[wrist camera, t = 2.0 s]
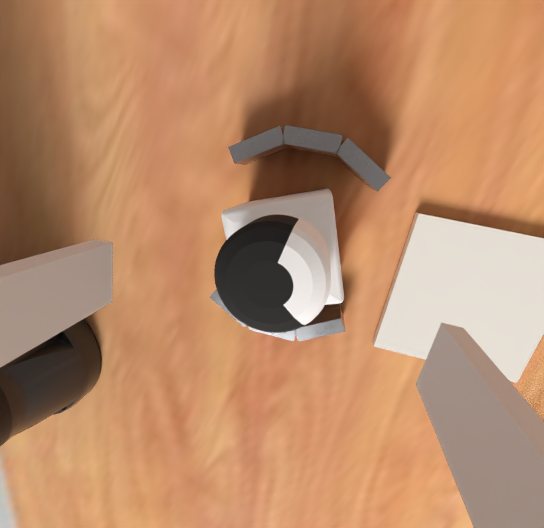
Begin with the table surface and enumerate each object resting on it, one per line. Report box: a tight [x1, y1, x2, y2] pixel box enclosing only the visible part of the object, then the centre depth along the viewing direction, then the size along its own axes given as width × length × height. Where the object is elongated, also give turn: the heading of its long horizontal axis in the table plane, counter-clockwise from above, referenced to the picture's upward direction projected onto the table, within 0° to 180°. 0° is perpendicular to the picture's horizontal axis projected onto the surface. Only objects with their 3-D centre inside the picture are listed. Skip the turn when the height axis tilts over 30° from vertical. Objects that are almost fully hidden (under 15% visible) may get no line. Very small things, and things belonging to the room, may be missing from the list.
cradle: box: [210, 125, 391, 341], centre depth 24 cm, size 12×16×3 cm
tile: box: [372, 212, 544, 383], centre depth 24 cm, size 12×12×1 cm
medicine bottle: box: [215, 189, 344, 333], centre depth 20 cm, size 7×7×12 cm
